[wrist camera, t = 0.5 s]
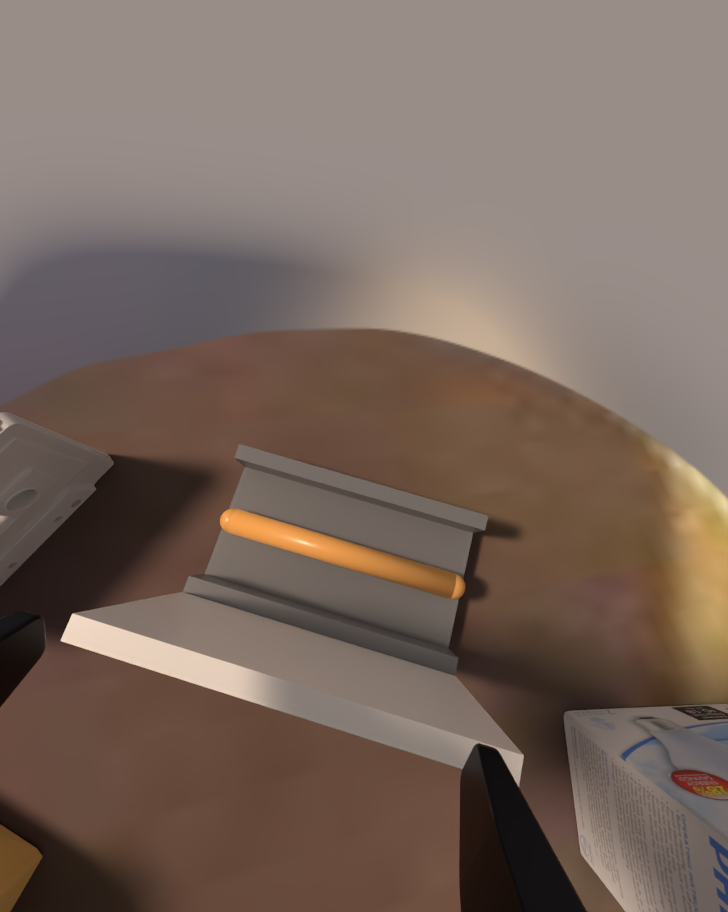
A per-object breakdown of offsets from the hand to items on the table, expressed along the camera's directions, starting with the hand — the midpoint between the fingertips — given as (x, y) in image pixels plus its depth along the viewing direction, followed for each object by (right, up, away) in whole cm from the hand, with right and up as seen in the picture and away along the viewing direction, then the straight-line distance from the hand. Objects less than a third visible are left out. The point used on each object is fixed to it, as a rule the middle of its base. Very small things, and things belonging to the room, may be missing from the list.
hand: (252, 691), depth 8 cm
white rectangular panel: (0, -3, +8) cm, 8 cm away
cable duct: (+1, -1, +16) cm, 16 cm away
